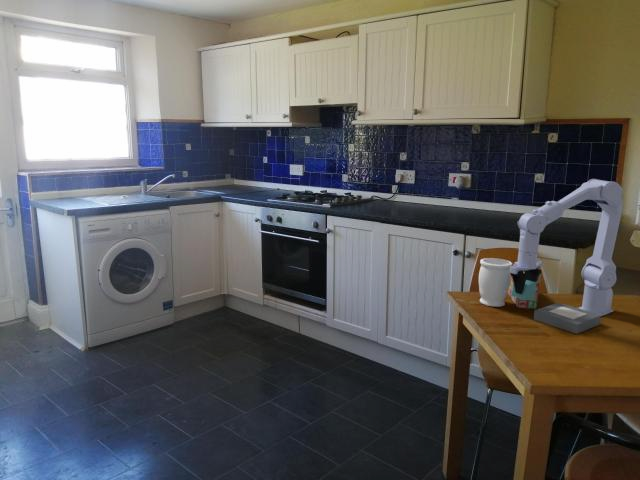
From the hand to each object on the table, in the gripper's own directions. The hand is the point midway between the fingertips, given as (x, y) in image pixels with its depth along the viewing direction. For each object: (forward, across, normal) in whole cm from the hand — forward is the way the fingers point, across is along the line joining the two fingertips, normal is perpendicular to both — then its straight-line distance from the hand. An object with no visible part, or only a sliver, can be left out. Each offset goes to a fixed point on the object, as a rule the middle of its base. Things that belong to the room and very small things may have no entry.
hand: (523, 291), depth 164 cm
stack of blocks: (+8, -14, -10) cm, 19 cm away
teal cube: (+2, 0, 0) cm, 2 cm away
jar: (+8, -1, -12) cm, 14 cm away
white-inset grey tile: (+8, -6, +12) cm, 15 cm away
